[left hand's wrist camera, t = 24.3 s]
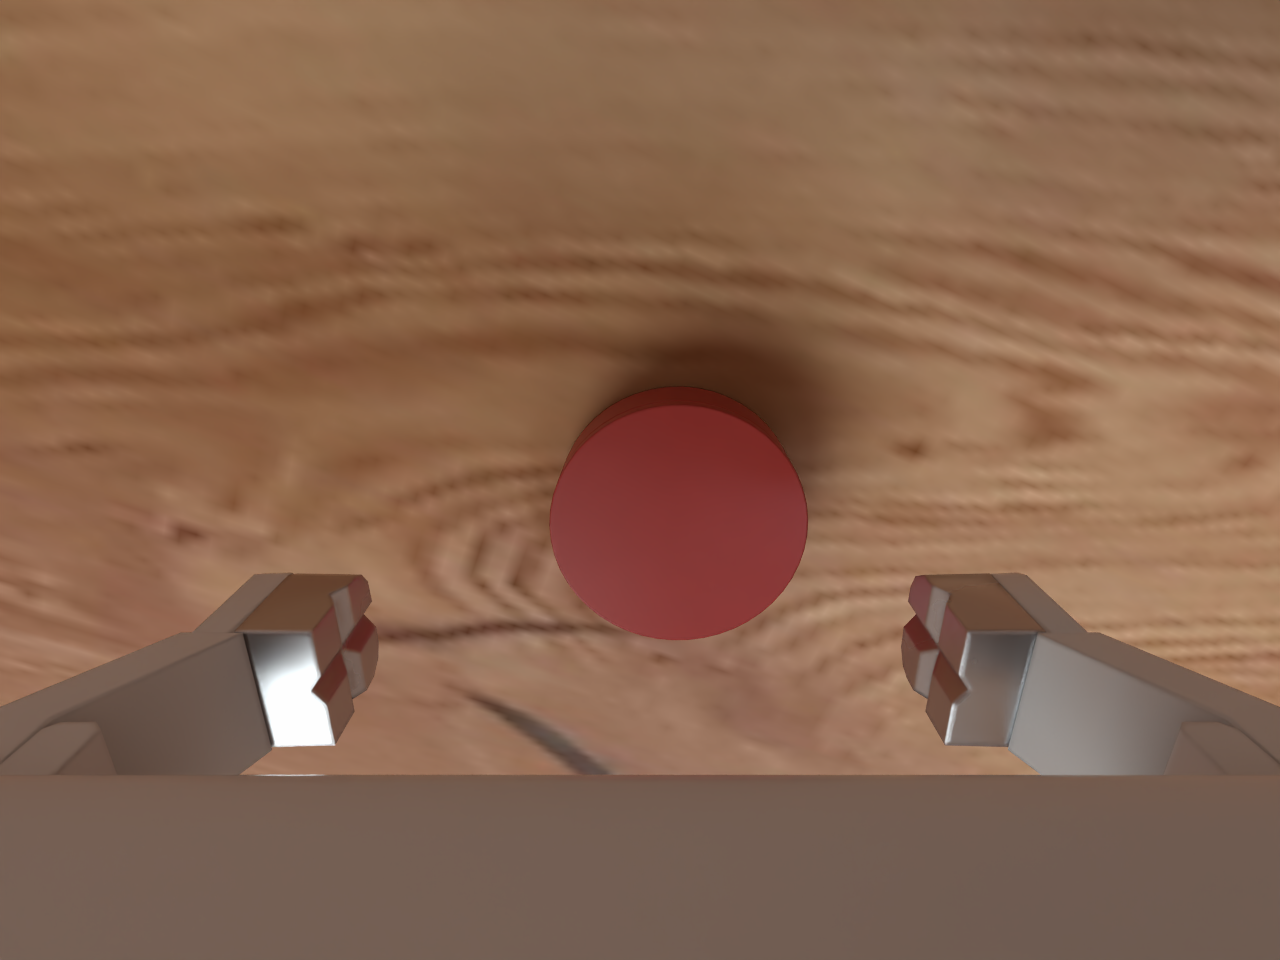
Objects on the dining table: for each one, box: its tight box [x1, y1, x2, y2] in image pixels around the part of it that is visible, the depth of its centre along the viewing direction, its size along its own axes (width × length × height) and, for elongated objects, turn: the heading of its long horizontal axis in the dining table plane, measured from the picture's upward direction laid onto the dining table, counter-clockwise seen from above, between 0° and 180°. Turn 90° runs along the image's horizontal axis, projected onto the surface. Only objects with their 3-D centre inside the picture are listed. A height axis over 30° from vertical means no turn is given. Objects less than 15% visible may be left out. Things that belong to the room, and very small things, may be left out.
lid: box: [550, 387, 808, 640], centre depth 15 cm, size 6×6×2 cm
